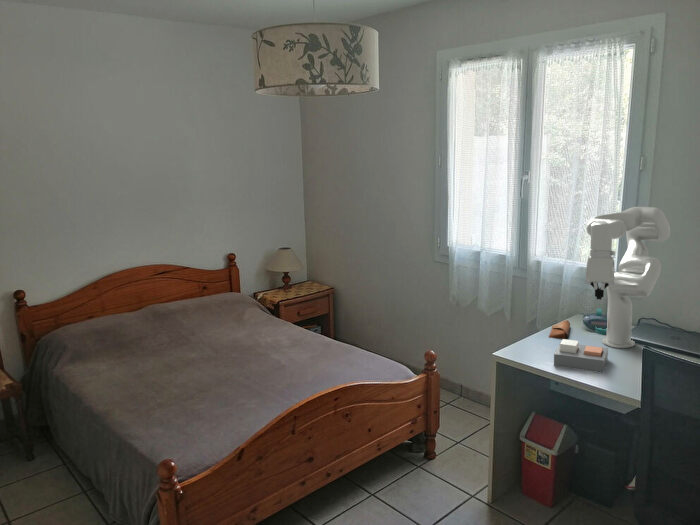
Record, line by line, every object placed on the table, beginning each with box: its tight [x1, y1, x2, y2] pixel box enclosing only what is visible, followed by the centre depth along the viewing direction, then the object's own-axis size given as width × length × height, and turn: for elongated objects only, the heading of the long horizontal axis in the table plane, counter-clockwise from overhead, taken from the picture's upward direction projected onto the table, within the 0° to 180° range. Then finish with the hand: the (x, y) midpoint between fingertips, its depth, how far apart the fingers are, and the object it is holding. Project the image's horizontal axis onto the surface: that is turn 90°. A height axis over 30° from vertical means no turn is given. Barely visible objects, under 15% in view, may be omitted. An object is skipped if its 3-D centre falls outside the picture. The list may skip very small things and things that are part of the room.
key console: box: [553, 343, 609, 374], centre depth 215 cm, size 14×18×5 cm
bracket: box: [595, 307, 607, 336], centre depth 252 cm, size 18×7×8 cm, turn 154°
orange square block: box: [584, 345, 604, 357], centre depth 213 cm, size 6×6×4 cm
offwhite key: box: [559, 339, 580, 353], centre depth 217 cm, size 6×6×4 cm
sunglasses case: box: [548, 319, 571, 340], centre depth 251 cm, size 18×7×7 cm, turn 156°
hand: (599, 298), depth 215 cm, fingers closed
